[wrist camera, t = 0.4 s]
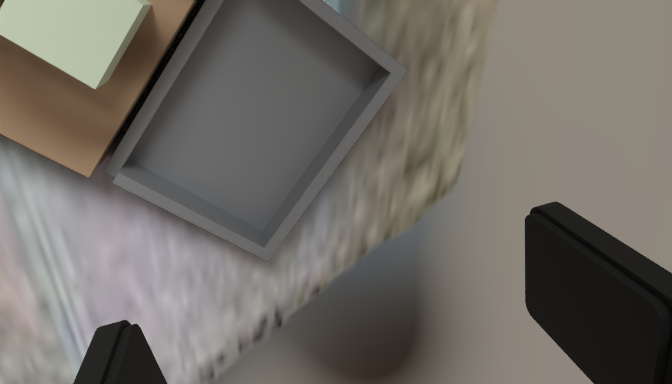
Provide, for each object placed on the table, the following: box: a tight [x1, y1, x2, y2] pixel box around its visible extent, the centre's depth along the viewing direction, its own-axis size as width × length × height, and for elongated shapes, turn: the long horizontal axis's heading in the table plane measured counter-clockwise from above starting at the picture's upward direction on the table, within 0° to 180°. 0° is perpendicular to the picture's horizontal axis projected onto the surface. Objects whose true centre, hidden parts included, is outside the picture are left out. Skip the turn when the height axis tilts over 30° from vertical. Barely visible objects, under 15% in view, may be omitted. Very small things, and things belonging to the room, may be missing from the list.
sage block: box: [0, 0, 152, 89], centre depth 27 cm, size 6×6×3 cm
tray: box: [103, 0, 408, 261], centre depth 36 cm, size 20×15×4 cm
